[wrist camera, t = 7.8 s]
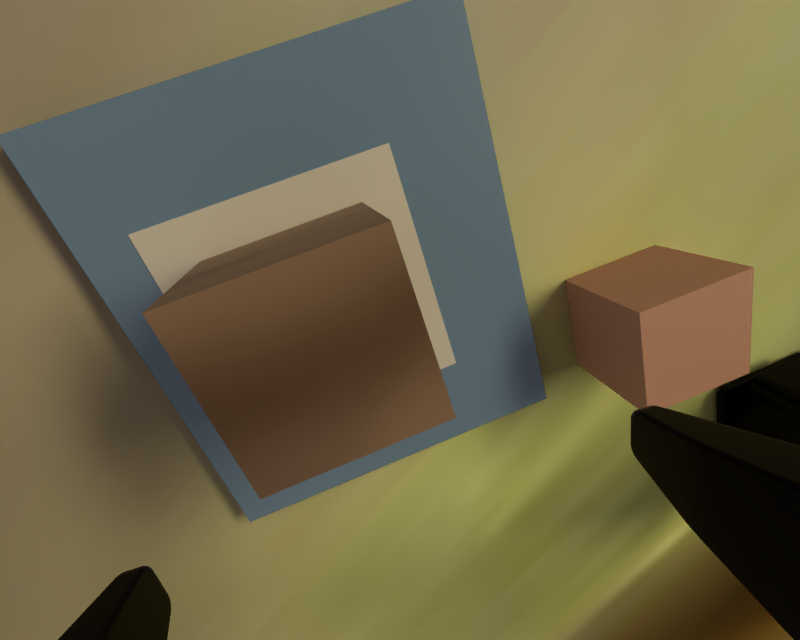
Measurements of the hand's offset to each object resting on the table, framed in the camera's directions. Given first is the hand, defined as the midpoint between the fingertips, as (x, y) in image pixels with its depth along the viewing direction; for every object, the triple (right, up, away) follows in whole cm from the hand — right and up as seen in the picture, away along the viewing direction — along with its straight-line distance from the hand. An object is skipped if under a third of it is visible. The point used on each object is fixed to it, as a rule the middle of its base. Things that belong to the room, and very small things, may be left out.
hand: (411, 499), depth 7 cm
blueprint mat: (-3, +4, +10) cm, 12 cm away
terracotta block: (+11, +4, +14) cm, 18 cm away
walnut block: (-4, +4, +10) cm, 11 cm away
